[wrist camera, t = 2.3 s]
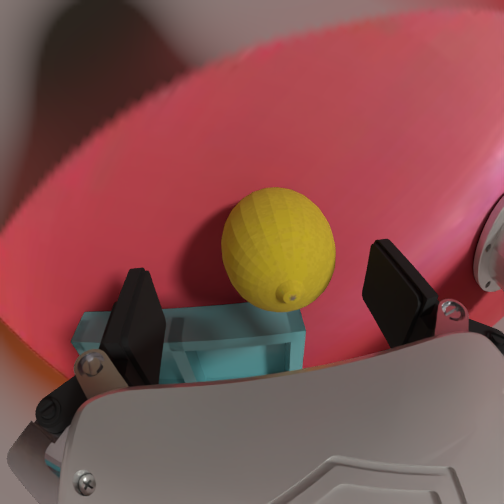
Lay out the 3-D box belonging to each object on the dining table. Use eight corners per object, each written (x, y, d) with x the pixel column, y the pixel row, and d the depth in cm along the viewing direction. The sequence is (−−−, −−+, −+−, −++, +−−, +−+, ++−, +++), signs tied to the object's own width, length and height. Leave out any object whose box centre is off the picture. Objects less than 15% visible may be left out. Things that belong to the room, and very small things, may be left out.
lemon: (279, 263, 20) (303, 356, 13) (206, 228, 18) (195, 319, 11) (327, 199, 17) (385, 273, 11) (253, 153, 16) (273, 205, 9)
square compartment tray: (296, 297, 21) (305, 330, 18) (289, 404, 31) (293, 429, 28) (84, 311, 21) (70, 341, 18) (148, 410, 30) (145, 433, 27)
